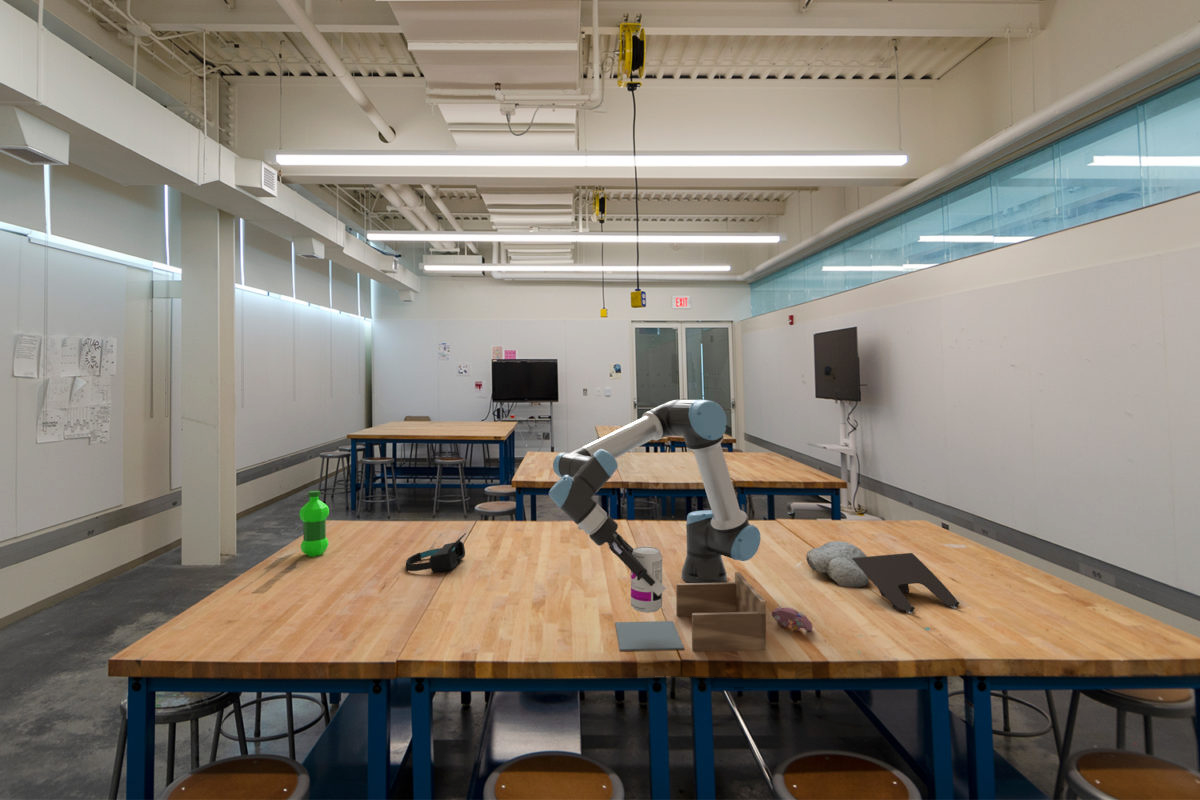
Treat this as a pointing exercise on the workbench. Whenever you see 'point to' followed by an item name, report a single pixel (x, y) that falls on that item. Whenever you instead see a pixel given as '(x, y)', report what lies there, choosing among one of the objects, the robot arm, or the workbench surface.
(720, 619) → the wooden u-shaped enclosure
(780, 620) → the video game controller
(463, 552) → the virtual reality headset
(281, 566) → the workbench surface
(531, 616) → the workbench surface
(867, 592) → the workbench surface
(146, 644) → the workbench surface
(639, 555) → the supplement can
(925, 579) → the portable electronic device stand
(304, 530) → the plastic bottle
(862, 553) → the grey rock
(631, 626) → the mat
